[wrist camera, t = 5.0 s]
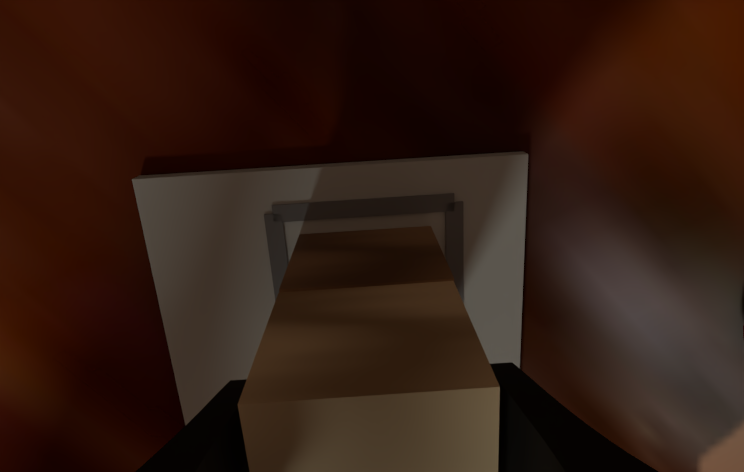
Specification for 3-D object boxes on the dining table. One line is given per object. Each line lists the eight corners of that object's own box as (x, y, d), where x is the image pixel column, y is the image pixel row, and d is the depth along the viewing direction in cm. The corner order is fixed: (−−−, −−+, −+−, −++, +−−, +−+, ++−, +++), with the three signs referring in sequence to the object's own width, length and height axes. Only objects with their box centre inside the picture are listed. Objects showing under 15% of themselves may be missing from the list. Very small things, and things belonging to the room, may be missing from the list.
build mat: (215, 532, 22) (210, 547, 21) (139, 175, 17) (130, 180, 16) (509, 513, 22) (514, 527, 21) (522, 151, 17) (529, 154, 16)
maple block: (298, 435, 14) (271, 593, 10) (278, 292, 13) (237, 404, 9) (455, 425, 14) (496, 578, 10) (453, 280, 13) (500, 386, 9)
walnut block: (312, 349, 18) (297, 433, 14) (299, 234, 17) (279, 289, 13) (433, 341, 18) (455, 423, 14) (431, 225, 17) (454, 278, 13)
